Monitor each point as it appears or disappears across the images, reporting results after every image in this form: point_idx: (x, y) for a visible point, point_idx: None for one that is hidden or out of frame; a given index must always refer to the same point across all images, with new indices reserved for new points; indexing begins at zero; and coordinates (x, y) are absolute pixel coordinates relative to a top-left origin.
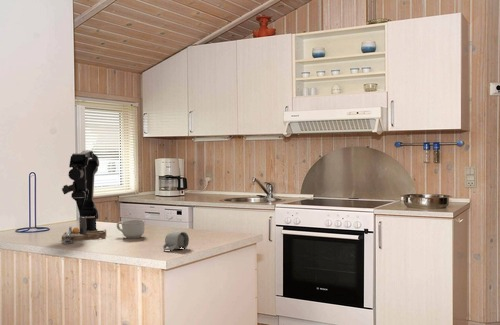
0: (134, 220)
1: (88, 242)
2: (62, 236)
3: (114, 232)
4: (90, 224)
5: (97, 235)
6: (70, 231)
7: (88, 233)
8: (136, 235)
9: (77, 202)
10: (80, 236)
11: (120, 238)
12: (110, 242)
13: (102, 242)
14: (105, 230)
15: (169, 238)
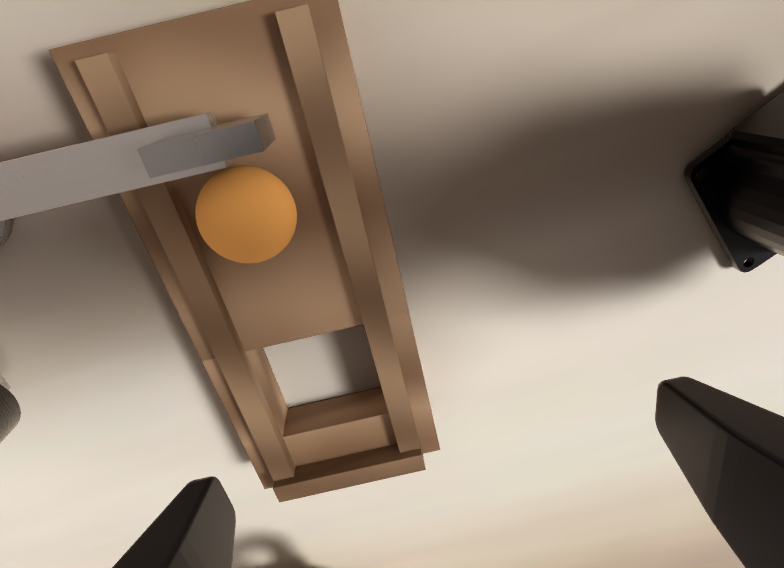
0: None
1: (50, 390)
2: (55, 62)
3: (564, 441)
4: (778, 235)
5: (241, 429)
6: (115, 180)
7: (224, 367)
8: None
9: None
10: (170, 285)
11: (270, 548)
12: (92, 537)
13: (79, 490)
14: (361, 481)
15: None
